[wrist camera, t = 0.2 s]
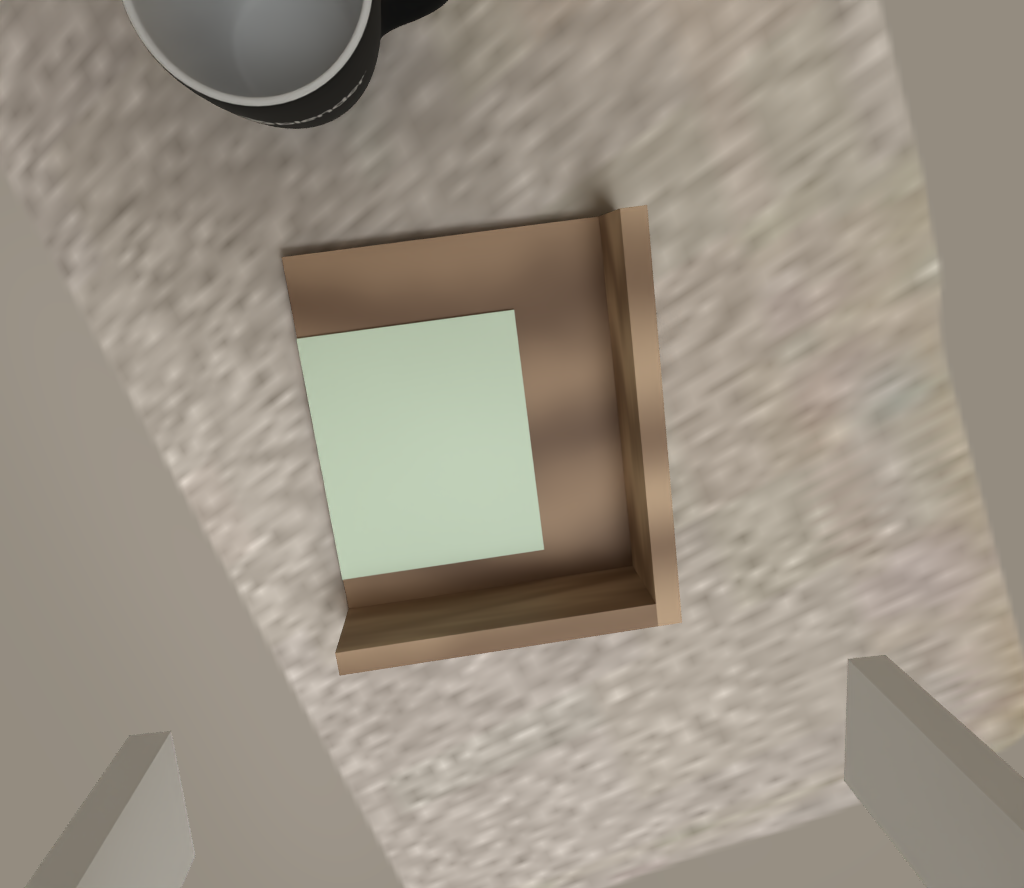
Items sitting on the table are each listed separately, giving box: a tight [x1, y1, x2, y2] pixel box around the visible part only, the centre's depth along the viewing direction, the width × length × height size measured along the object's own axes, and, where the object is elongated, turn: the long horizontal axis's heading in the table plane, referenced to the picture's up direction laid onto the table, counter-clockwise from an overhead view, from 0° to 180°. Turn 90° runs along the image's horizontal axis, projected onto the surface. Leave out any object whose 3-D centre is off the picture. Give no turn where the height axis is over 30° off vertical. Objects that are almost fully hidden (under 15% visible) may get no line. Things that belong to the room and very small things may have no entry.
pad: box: [296, 310, 544, 580], centre depth 40 cm, size 13×11×1 cm
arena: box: [282, 205, 682, 675], centre depth 38 cm, size 20×17×6 cm
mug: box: [122, 0, 448, 129], centre depth 32 cm, size 12×9×10 cm
